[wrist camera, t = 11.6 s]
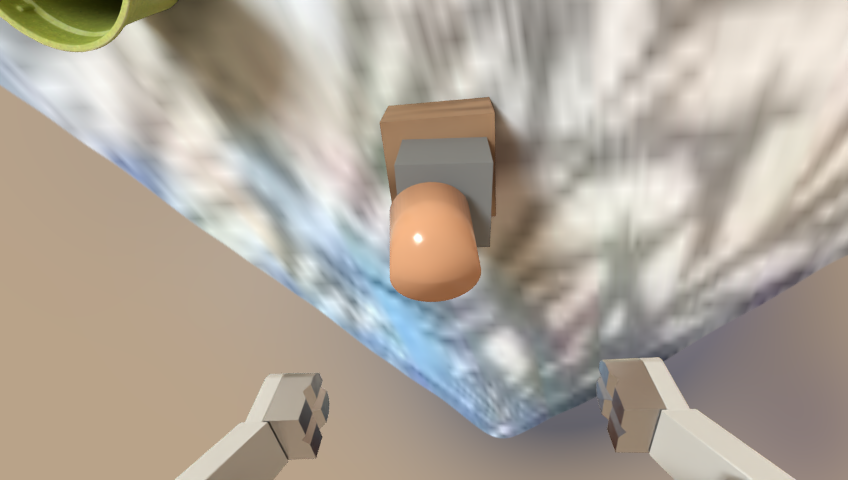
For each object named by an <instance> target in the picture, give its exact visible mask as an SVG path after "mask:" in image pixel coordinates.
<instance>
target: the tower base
mask: <svg viewBox="0 0 848 480" xmlns="http://www.w3.org/2000/svg"><path fill="white" fill-rule="evenodd" d="M380 128H381V134H382V141H383V148H384V154H385V161H386V167H387V174H388V180H389V187H390V193H391V200H392V202H393V200H394V199H395V198H396V196H397V189H396V178H395V167H394V165H395V161H396V158H397V155H398V152H399V149H400V145H401V142H402V140H407V139H438V138H470V137H487V140H488V144H489V148H490V152H491V156H492V160H493V180H492V205H491V216H496V198H495V112H494V109H493V107H492V104H491V101H490V99H489V97H485V98H474V99H462V100H451V101H440V102H428V103H417V104H406V105H395V106H388V108H387V110H386V111H385V113H384V115H383V117H382V119H381V121H380Z"/></svg>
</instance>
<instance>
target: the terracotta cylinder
mask: <svg viewBox="0 0 848 480" xmlns="http://www.w3.org/2000/svg"><path fill="white" fill-rule="evenodd" d="M480 275H481V266H480V261H479V256H478V251H477V246H476V241H475V235H474V230H473V225H472V220H471V215H470V209H469V204H468V201H467V199H466V197H465V196H464V195H463V193H461V192H460V191H459V190H458V189H456V188H455V187H453V186H450V185H448V184H444V183H439V182H425V183H419V184H416V185H413V186H410V187H408V188H407V189H405V190H403V191H402V192H401V193H399V194H398V195H397V196H396V198H395V199H394V200H393V202H392V204H391V207H390V281H391V283H392V285H393V287H394V288H395V289H396V290H397V291H398V292H399V293H400V294H402V295H404V296H406V297H408V298H410V299H414V300H418V301H425V302H437V301H445V300H449V299H453V298H456V297H458V296H461V295H463V294H465V293H466V292H468V291H469V290H471V289H472V288H473V287H474V286H475V285H476V283H477V282H478V280H479V278H480Z"/></svg>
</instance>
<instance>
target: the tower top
mask: <svg viewBox="0 0 848 480" xmlns="http://www.w3.org/2000/svg"><path fill="white" fill-rule="evenodd" d="M394 167H395V178H396V189H397V195H398V194H399V193H401V192H402V191H403V190H405V189H407V188H408V187H410V186H413V185H416V184H419V183H425V182H439V183H444V184H448V185H450V186H453V187H455V188H456V189H458V190H459V191H460V192H461V193H463V195H464V196H465V197H466V199H467V201H468V204H469V209H470V215H471V220H472V225H473V230H474V235H475V241H476V246H477V247H490V230H491V205H492V180H493V160H492V156H491V152H490V148H489V144H488V140H487V137H470V138H438V139H407V140H402V142H401V145H400V149H399V152H398V155H397V158H396V161H395V165H394Z"/></svg>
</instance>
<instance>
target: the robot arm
mask: <svg viewBox="0 0 848 480" xmlns="http://www.w3.org/2000/svg"><path fill="white" fill-rule="evenodd" d="M599 371H600V374H601V377H600V378H599V379H598V380H597V386H596V390H597V399H598V403H599V407H600V410H601V413H602V415H603V416H605V417H606V418H607V419H608V420H609V421H608V428H607V430H608V433H609V435H610V438H611V441H612V444H613V447H614V449H615V452H629V453H631V452H632V453H633V452H634V453H638V452H639V453H649V455H650V456H651V457H652V458H653V459H654V460H655V461H656V462H657V463H658V464H659V465H660V466H661V467H662V468H663V469H664V470H665V471H666V472H667V473H668V474H669V475H670V476H671V477H672V478H673V479H674V480H796V479H794V478H793V477H791V476H790V475H789V474H787V473H786V472H784V471H783V470H781V469H780V468H779V467H777V466H776V465H774V464H773V463H772V462H770V461H769V460H767V459H766V458H765V457H763V456H762V455H760V454H759V453H758V452H756V451H755V450H753V449H752V448H750V447H749V446H748V445H746V444H745V443H743V442H742V441H741V440H739V439H738V438H736V437H735V436H734V435H732V434H731V433H729V432H728V431H727V430H725V429H724V428H722V427H721V426H720V425H718V424H717V423H715V422H714V421H712V420H711V419H710V418H708V417H706V416H705V415H704V414H702V413H701V412H700V411H698V410H697V409H690V408H689V406H688V404H687V403H686V401H685V399H684V397H683V395H682V394H681V392H680V390H679V389H678V387H677V385H676V383H675V381H674V380H673V378H672V376H671V374H670V373H669V371H668V369H667V367H666V366H665V364H664V362H663V360H661V359H660V358H659V357H655V358H639V359H638V358H628V359H610V360H601V362H600V364H599ZM321 384H322V378H321V376H320V374H319V373H295V374H294V373H288V374H269V375H268V376H267V377H266V379H265V380H264V382H263V385H262V387H261V389H260V391H259V393H258V396H257V397H256V400H255V402H254V404H253V406H252V408H251V411H250V413H249V415H248V417H247V419H246V421H245V423H239V424H238V425H237V426H236V427H235V428H234V429H232V430H231V431H230V432H229V433H228V434H227V435H226V436H224V437H223V438H222V439H221V440H220V441H219V442H217V443H216V444H215V445H214V446H213V447H212V448H211V449H210V450H208V451H207V452H206V453H205V454H204V455H203V456H201V457H200V458H199V459H198V460H197V461H196V462H194V463H193V464H192V465H191V466H190V467H189V468H188V469H186V470H185V471H184V472H183V473H182V474H181V475H179V476H178V477H177V478H176V479H175V480H273V479H274V478H275V477H276V476H277V475H278V473H279V472H280V471H281V470H282V469H283V467H284V466H285V465H286V464H287V463H288V460H292V459H314V458H316V457H317V454H318V450H319V447H320V443H321V440H322V435H321V432H320V430H319V429H320V428H321V427H322V426H323V425H324V424H325V423H326V422H327V418H328V414H329V398H328V394H327V391H326V390H325V389H324V388H322V387H321Z"/></svg>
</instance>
